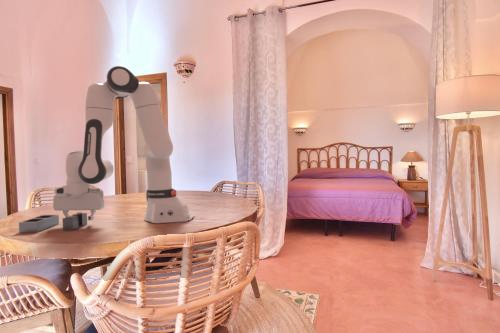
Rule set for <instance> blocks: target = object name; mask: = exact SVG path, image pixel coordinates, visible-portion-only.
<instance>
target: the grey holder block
mask: <svg viewBox="0 0 500 333" xmlns="http://www.w3.org/2000/svg"><path fill="white" fill-rule="evenodd" d="M59 216H60V215H59V214H41V215H39V216H38V215H37V216H35V217H33V218H28V219H26V220H23V221H19V222H18V230H19V231H18V232H19V233H22V234H23V233H38V232H42V231H44V230H46V229H49V228H51V227H54V226H56V225H57V226H58V225H60V217H59Z"/></svg>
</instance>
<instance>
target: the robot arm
mask: <svg viewBox="0 0 500 333" xmlns="http://www.w3.org/2000/svg"><path fill="white" fill-rule="evenodd" d="M128 97H129V98H130V99H131V101H132V102H133V107H134V109H135V113H136V116H137V121H138V124H139V127H140V130H141V134H142V136H143V139H144V143H145V145H144V146H145V147H144V151H145V152H144V153H145V167H146V188H147V189H146V195H145V196H146V197H145V198H146V211H145V216H144V221H145V222H150V223H152V224H163V223H165V224H166V223H181V222H188V220H189V221H191V220H193V219H194V213H192V212H190V210H189V206H188V203H186V202H185V201H183V200H182V199H181V198H180V197H178V196H177V189H174V188H172V187H173V186H172V185H173V184H172V182H173V181H172V180H173V179H172V168H171V162H170V160H171V159H170V157H171V156H172V154H173V151H174V146H173V142H172V139H171V136H170V133H169V131H168V128H167V125H166V123H165V120H164V117H163V116H164V115H163V112H162V108H161V105H160V100H159V98H158V96H157V93H156V90H155V89H154V87H153V85H152V84H151V83H149V82H146V81H141V82H140V80H139V79H138V78H137V77H136V75H134V73H133V72H132V71H131V70H130V69H129V68H127V67H125V66H123V65H122V66H121V65H115V66H113V67H111V68H110V69H109V70H108V72H107V74H106V81H105V82H102V83H100V82H97V83H92V84H90V85H89V86H88V87H87V92H86V96H85V106H84V107H85V110H84V111H85V129H84V142H83V143H84V144H83V150H78V151H73V152H70V153H68V154H67V156H66V158H65V159H66V160H65V173H66V184H65V185H63V186H61V187H58V188H55V189H54V191H53V193H54V196H53V199H52V200H53V201H52V208H53V210H54V211H56V212H58V211H62V215H63V216H64V218H66V217H67V216H70V214H69V212H70V211H90V213H91V214H89V215H88V216H87V221H93V220H94V219H95V218H94V216H95V214H96V212H97V211H101V210H103V209H104V208H105V199H104V191H103V189H101V188H99V187H97V188H91V185H96V184H98V183H101V182H102V181H104V180H105V181H106V180H107V179H109V178H110V177H111V176H112V175H113V173H114V166H113V164H112V162H111V161H109V160H108V159H106V158H103V157H102V149H103V148H102V147H103V139H104V135H105V133H106V132H107V131H109V129H110V128H112V126H113V124H114V118H115V100H118V99H124V98H128ZM192 218H193V219H192Z"/></svg>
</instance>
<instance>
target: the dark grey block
mask: <svg viewBox="0 0 500 333" xmlns="http://www.w3.org/2000/svg"><path fill="white" fill-rule="evenodd" d="M61 220H62V231H63V232H65V231H66V232H69V231H70V232H71V231H75V230H78V229H79V226H78V216H72V215H69V216H67V217H63V218H62V219H61Z"/></svg>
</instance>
